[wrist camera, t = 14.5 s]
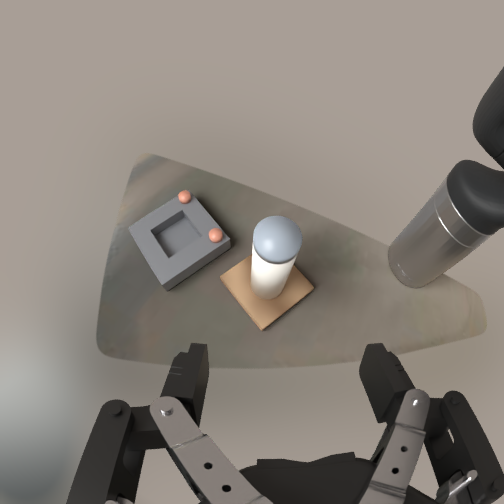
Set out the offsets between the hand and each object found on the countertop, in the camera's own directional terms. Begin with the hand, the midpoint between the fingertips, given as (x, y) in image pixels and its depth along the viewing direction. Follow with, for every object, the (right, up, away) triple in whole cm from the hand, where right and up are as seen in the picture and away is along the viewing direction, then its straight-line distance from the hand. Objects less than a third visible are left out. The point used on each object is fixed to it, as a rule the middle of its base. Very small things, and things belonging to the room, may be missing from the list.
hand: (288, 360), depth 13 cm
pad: (0, +1, +25) cm, 25 cm away
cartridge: (0, +1, +24) cm, 24 cm away
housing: (-13, +7, +27) cm, 31 cm away
